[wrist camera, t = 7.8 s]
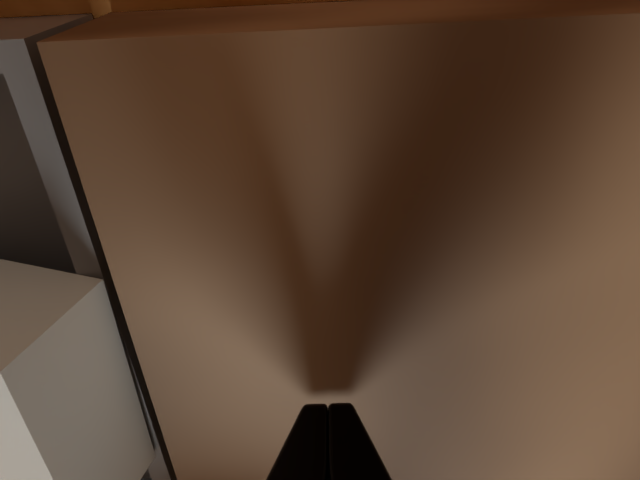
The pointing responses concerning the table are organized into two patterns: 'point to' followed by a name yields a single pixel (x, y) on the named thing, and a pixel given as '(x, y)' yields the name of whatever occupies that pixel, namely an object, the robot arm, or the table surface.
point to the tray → (53, 190)
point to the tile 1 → (65, 382)
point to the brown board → (373, 226)
